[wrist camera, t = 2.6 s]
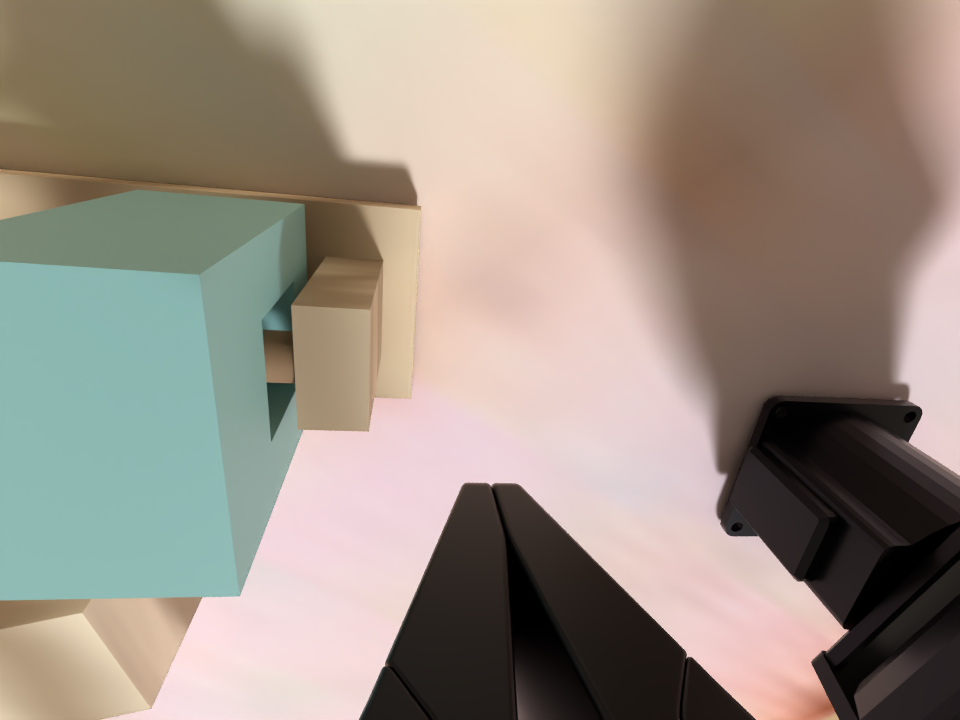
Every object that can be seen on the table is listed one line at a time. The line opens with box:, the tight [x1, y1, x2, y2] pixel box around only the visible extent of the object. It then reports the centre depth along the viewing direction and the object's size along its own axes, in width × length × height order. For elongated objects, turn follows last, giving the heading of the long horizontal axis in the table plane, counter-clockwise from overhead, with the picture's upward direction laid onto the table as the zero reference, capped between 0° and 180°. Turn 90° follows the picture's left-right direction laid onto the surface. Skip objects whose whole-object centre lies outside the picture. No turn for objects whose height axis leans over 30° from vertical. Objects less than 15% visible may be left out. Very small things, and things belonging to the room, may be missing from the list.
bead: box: [0, 190, 307, 600], centre depth 11 cm, size 4×6×7 cm, turn 174°
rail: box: [0, 169, 421, 431], centre depth 13 cm, size 18×6×5 cm, turn 84°
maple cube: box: [0, 597, 202, 720], centre depth 17 cm, size 4×4×4 cm
